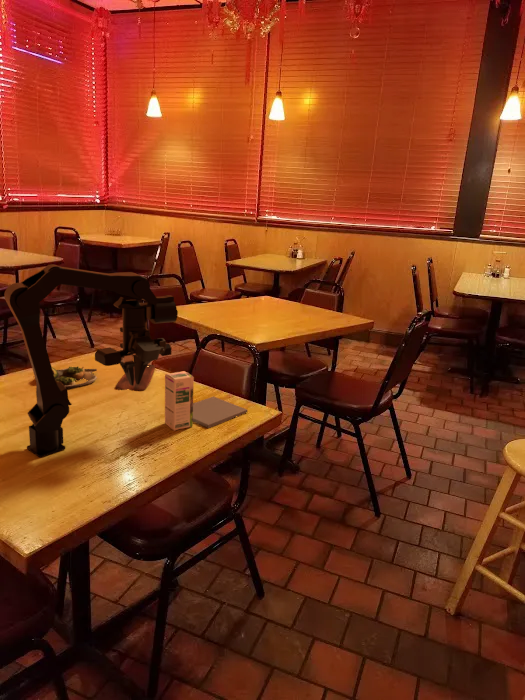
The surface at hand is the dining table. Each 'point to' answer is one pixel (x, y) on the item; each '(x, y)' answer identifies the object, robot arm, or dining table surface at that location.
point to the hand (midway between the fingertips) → (134, 384)
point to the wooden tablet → (144, 382)
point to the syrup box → (179, 400)
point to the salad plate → (74, 376)
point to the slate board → (215, 411)
